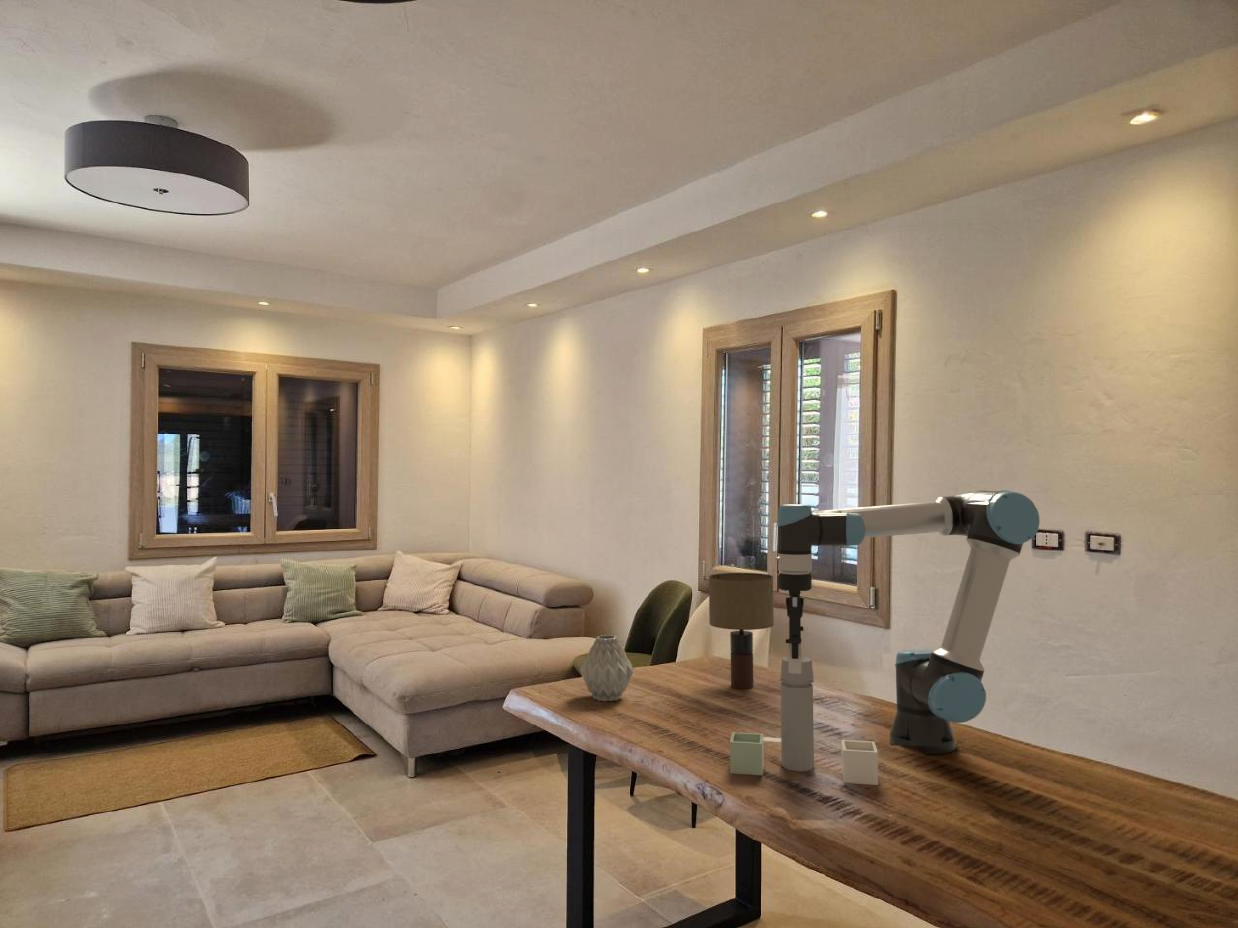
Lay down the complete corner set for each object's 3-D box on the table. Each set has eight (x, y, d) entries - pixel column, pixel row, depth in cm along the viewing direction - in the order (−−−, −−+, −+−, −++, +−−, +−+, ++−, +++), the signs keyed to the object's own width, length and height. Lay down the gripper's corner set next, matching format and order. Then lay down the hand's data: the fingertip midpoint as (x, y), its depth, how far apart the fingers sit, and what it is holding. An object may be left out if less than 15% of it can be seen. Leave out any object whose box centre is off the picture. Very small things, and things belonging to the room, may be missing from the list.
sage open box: (763, 769, 182) (763, 733, 182) (762, 780, 175) (762, 743, 175) (732, 767, 183) (732, 732, 183) (730, 778, 176) (729, 741, 177)
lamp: (739, 675, 269) (738, 571, 269) (787, 687, 253) (786, 576, 254) (697, 685, 256) (695, 576, 257) (744, 698, 240) (743, 581, 241)
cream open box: (875, 778, 176) (874, 741, 176) (878, 790, 169) (877, 752, 169) (841, 776, 177) (841, 739, 177) (843, 788, 170) (843, 750, 170)
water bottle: (816, 777, 176) (814, 663, 177) (780, 775, 178) (778, 662, 178) (814, 763, 185) (813, 654, 186) (780, 761, 187) (778, 653, 187)
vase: (574, 693, 248) (574, 633, 248) (624, 689, 253) (624, 630, 253) (588, 707, 232) (587, 643, 233) (641, 702, 237) (641, 639, 237)
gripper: (778, 566, 195) (779, 653, 195) (776, 578, 171) (776, 678, 171) (810, 566, 194) (810, 655, 193) (812, 579, 169) (813, 680, 169)
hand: (795, 666), depth 182 cm, fingers open, 13 cm apart
